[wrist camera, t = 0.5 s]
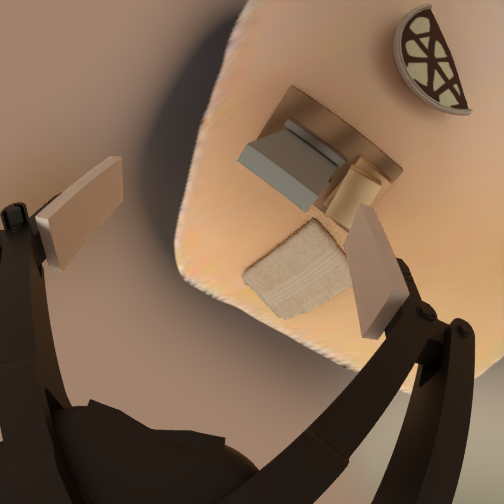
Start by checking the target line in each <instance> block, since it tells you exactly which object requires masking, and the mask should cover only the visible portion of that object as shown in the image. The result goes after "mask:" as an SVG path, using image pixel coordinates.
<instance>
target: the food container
mask: <svg viewBox="0 0 504 504" xmlns="http://www.w3.org/2000/svg"><path fill="white" fill-rule="evenodd" d="M431 7H432V4H431V5H430V4H427V5H422V6H420V7H418V8H415V9H413V10H412V11H410V12H409V13H407V14H406V15H405V16H404V17H403V18H402V19H401V21H400V22H399V24H398V26H397V28H396V31H395V33H394V39H393V52H394V59H395V62H396V65H397V68H398V70H399V72H400V74H401V76H402V78H403V79H404V81H405V83H406V84H407V85H408V87H409V88H410V89H411V90H412V92H413V93H414V94H416V95H417V96H418V97H419V98H420V99H421V100H422V101H424V102H425V103H426V104H428V105H429V106H431V107H433V108H435V109H437V110H439V111H442V112H444V113H448V114H452V115H460V116H461V115H469V114H471V111H472V110H470V109H468V106H467V101H466V99H465V96H464V93H463V90H462V86H461V83H460V80H459V77H458V73H457V70H456V67H455V64H454V61H453V58H452V55H451V53H450V50H449V48H448V46H447V44H446V41H445V39H444V37H443V35H442V32H441V30H440V28H439V26H438V24H437V21H436V19H435V17H434V15H433V13H432V11H431Z"/></svg>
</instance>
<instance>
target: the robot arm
mask: <svg viewBox="0 0 504 504" xmlns="http://www.w3.org/2000/svg"><path fill="white" fill-rule="evenodd" d="M122 201H123V188H122V158H121V157H114V156H110V157H108V158H107V159H105V160H104V161H103V162H101V163H100V164H99V165H97V166H96V167H94V168H93V169H92V170H90V171H89V172H88V173H86V174H85V175H84V176H83V177H81V178H80V179H79V180H78V181H76V182H75V183H74V184H72V185H71V186H70V187H69V188H67V189H66V190H65V191H64V192H62V193H60V194H58V195H56V196H54V197H53V198H52V199H50V200H49V201H48V203H46V204H45V205H44V206H43V207H41V208H40V209H39V210H38V211H37V212H35V213H34V214H33V215H32V216H31V217H30V218H29V217H28V212H27V208H26V205H25V204H24V203H20V202H18V203H13V204H11V205H9V206H7V207H6V208H4V209H3V210H2V211H1V214H0V215H1V219H2V222H3V226H4V229H5V230H0V427H1V433H2V437H3V441H1V442H0V504H313V503H314V502H315V501H316V500H317V499H318V498H319V497H320V496H321V495H322V494H323V493H324V492H325V491H326V490H327V489H328V488H329V486H330V485H331V484H332V483H333V482H334V481H335V480H336V479H337V477H339V475H340V474H341V473H342V472H343V471H344V469H345V468H346V467H347V465H348V463H349V458H350V456H351V455H352V453H353V452H354V451H355V450H356V448H357V447H358V446H359V445H360V443H361V442H362V441H363V440H364V438H365V437H366V436H367V434H368V433H369V432H370V430H371V429H372V428H373V426H374V425H375V424H376V422H377V421H378V420H379V418H380V417H381V415H382V414H383V413H384V411H385V410H386V408H387V407H388V405H389V404H390V402H391V401H392V399H393V398H394V396H395V395H396V393H397V392H398V390H399V389H400V387H401V385H402V384H403V382H404V381H405V379H406V377H407V376H408V374H409V372H410V371H411V369H412V367H413V366H414V364H415V363H418V364H419V365H418V369H417V374H416V378H415V382H414V386H413V390H412V394H411V397H410V401H409V405H408V408H407V412H406V415H405V418H404V421H403V425H402V428H401V431H400V434H399V437H398V440H397V443H396V445H395V448H394V451H393V454H392V456H391V459H390V462H389V464H388V467H387V469H386V471H385V474H384V477H383V479H382V481H381V483H380V486H379V488H378V490H377V492H376V495H375V497H374V499H373V501H372V503H371V504H452V501H453V498H454V495H455V491H456V488H457V484H458V480H459V476H460V472H461V468H462V463H463V459H464V454H465V448H466V442H467V437H468V431H469V425H470V417H471V408H472V399H473V387H474V369H475V334H474V331H473V329H472V327H471V326H470V325H469V323H468V322H466V321H465V320H463V319H460V318H456V319H454V320H453V321H452V322H451V323H450V325H449V324H446V323H444V322H442V321H440V320H438V319H437V314H436V312H435V310H434V309H433V308H432V307H431V306H430V305H429V304H427V303H426V302H424V301H422V300H421V297H420V295H419V292H418V290H417V287H416V285H415V282H414V280H413V277H412V276H411V273H410V270H409V268H408V266H407V265H406V264H405V263H404V261H403V260H402V259H399V258H396V257H395V255H394V253H393V250H392V248H391V246H390V243H389V241H388V239H387V236H386V234H385V232H384V230H383V227H382V225H381V223H380V221H379V219H378V217H377V214H376V212H375V210H374V208H373V207H372V206H368V205H365V204H361V203H360V205H359V208H358V210H357V213H356V215H355V218H354V220H353V223H352V225H351V228H350V230H349V233H348V235H347V238H346V240H345V243H344V248H345V253H346V257H347V262H348V266H349V271H350V276H351V280H352V285H353V290H354V295H355V300H356V306H357V311H358V317H359V323H360V328H361V334H362V338H368V339H376V340H378V339H379V337H380V336H381V335H382V333H383V332H384V331H385V335H386V339H385V341H384V342H383V343H382V345H381V346H380V347H379V348H378V350H377V351H376V352H375V353H374V355H373V356H372V357H371V359H370V360H369V361H368V362H367V363H366V365H365V366H364V367H363V368H362V370H361V371H360V372H359V373H358V374H357V375H356V377H355V378H354V379H353V380H352V381H351V383H350V384H349V385H348V386H347V387H346V388H345V389H344V390H343V391H342V393H341V394H340V395H339V396H338V397H337V398H336V399H335V400H334V401H333V402H332V403H331V405H330V406H329V407H328V408H327V409H326V410H325V411H324V412H323V413H322V414H321V415H320V416H319V417H318V418H317V419H316V420H315V421H314V422H313V423H312V424H311V425H310V426H309V427H308V428H307V429H306V430H305V431H304V432H303V433H302V434H301V435H300V436H298V438H296V439H295V440H294V441H293V442H292V443H291V444H290V445H289V446H288V447H287V448H286V449H285V450H283V451H282V452H281V453H280V454H279V455H278V456H276V457H275V458H274V459H273V460H272V461H271V462H269V463H268V464H267V465H266V466H265V467H263V468H262V469H261V470H260V471H259V470H258V468H257V467H256V466H255V465H254V464H253V463H252V462H251V461H250V460H249V459H248V458H247V457H245V456H244V455H243V454H241V453H240V452H238V451H237V450H235V449H233V448H231V447H229V446H226V445H224V444H225V438H224V437H218V436H213V435H208V434H203V433H199V432H194V431H190V430H188V431H186V430H181V431H180V430H154V429H150V428H148V427H146V426H145V425H143V424H141V423H140V422H138V421H136V420H135V419H133V418H131V417H130V416H128V415H126V414H125V413H124V412H122V411H120V410H118V409H115V408H112V407H109V406H107V405H104V404H101V403H99V402H96V401H94V400H91V399H90V401H89V403H88V406H73V407H72V405H71V403H70V401H69V399H68V397H67V395H66V392H65V389H64V385H63V381H62V377H61V373H60V369H59V365H58V361H57V356H56V352H55V347H54V342H53V336H52V331H51V325H50V319H49V312H48V305H47V298H46V290H45V279H44V269H43V266H42V263H43V261H44V260H45V259H47V262H48V266H49V268H50V269H53V270H56V271H59V272H62V271H63V270H64V269H65V267H66V266H67V265H68V263H69V262H70V261H71V260H72V258H73V257H74V256H75V255H76V253H77V252H78V251H79V250H80V248H81V247H82V246H83V245H84V244H85V243H86V241H87V240H88V239H89V238H90V237H91V236H92V234H93V233H94V232H95V231H96V230H97V229H98V227H99V226H100V225H101V224H102V223H103V222H104V221H105V220H106V218H107V217H108V216H109V215H110V214H111V213H112V212H113V211H114V210H115V209H116V207H117V206H118V205H119V204H120V203H121V202H122Z"/></svg>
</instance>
